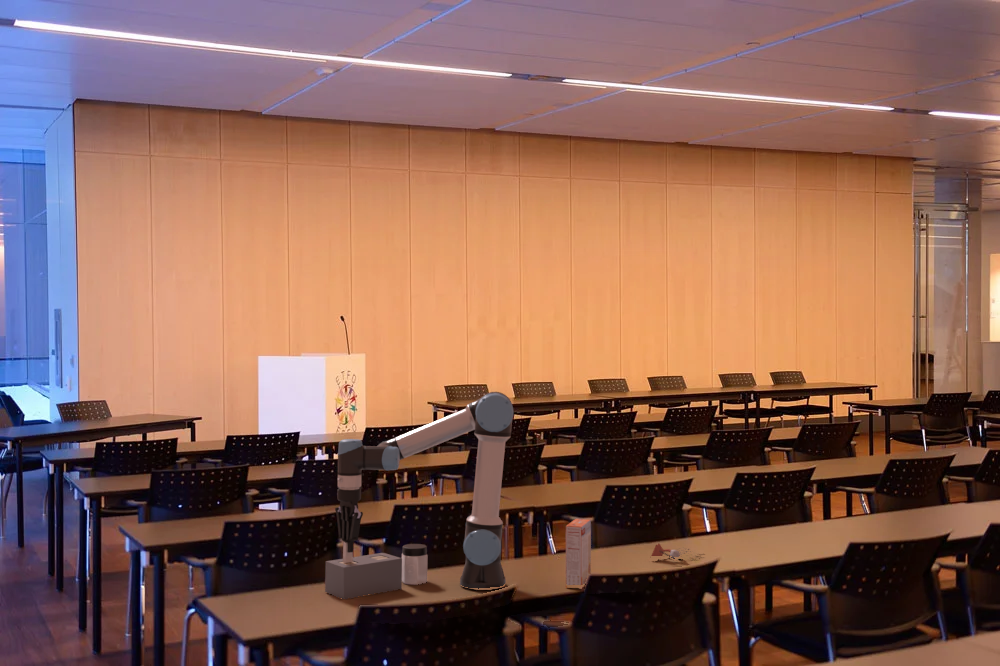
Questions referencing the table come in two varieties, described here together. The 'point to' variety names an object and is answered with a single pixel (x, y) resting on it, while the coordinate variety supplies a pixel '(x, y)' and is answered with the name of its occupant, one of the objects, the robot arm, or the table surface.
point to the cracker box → (578, 551)
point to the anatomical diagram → (660, 551)
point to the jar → (414, 564)
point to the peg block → (363, 576)
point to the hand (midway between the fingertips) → (347, 561)
